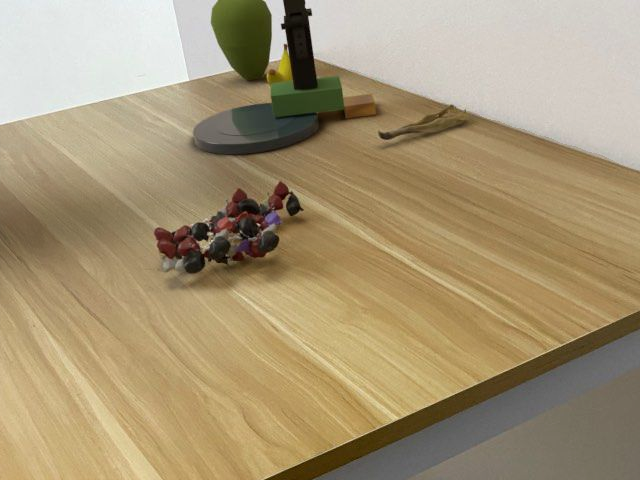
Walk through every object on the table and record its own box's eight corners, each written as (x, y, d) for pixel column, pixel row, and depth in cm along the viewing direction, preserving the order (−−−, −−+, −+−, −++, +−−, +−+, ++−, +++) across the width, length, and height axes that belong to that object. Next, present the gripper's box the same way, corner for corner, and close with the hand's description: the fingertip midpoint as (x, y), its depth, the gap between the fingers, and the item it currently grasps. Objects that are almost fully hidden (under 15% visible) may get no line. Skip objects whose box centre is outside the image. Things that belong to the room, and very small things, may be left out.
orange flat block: (345, 118, 104) (343, 106, 103) (343, 109, 107) (341, 97, 106) (376, 114, 104) (374, 102, 103) (373, 105, 107) (371, 93, 106)
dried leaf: (384, 133, 92) (385, 151, 94) (472, 105, 97) (472, 122, 99) (364, 124, 95) (366, 141, 96) (451, 96, 100) (452, 114, 101)
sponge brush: (274, 117, 102) (258, 26, 95) (274, 104, 107) (259, 15, 100) (344, 109, 103) (334, 18, 96) (341, 96, 107) (331, 7, 100)
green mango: (213, 86, 121) (193, -5, 113) (246, 70, 126) (228, -18, 118) (260, 89, 118) (242, -5, 110) (292, 72, 123) (277, -18, 115)
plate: (190, 161, 97) (187, 150, 96) (199, 121, 109) (196, 111, 108) (321, 144, 98) (320, 133, 97) (316, 105, 109) (315, 95, 108)
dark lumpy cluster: (316, 266, 71) (305, 211, 69) (156, 295, 71) (138, 241, 68) (305, 221, 83) (296, 173, 81) (168, 246, 83) (154, 198, 80)
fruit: (285, 81, 119) (278, 43, 116) (298, 80, 119) (292, 42, 116) (269, 103, 112) (261, 62, 109) (283, 102, 112) (276, 61, 108)
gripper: (305, -161, 81) (339, 96, 97) (301, -168, 92) (332, 62, 109) (231, -152, 81) (277, 104, 97) (236, -160, 92) (277, 69, 108)
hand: (306, 81), depth 103 cm, fingers closed on sponge brush, 3 cm apart
